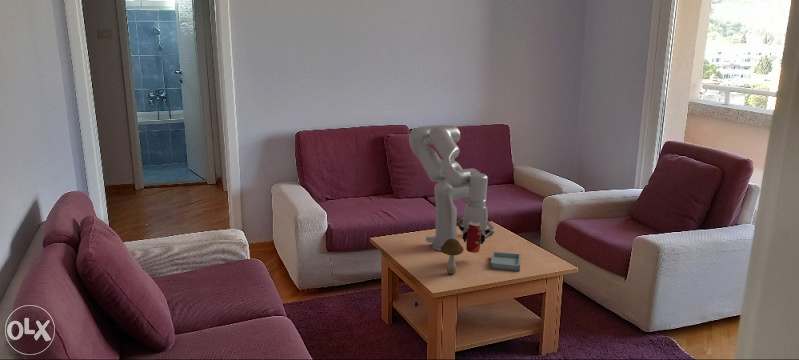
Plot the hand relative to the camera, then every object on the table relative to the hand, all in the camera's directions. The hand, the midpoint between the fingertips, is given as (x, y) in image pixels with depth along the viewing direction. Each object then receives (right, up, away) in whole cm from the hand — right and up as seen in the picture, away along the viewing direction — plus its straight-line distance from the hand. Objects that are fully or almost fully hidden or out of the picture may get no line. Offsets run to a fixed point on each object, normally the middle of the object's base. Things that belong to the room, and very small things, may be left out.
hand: (473, 241), depth 250 cm
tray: (+14, -9, -1) cm, 16 cm away
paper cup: (0, -4, +1) cm, 4 cm away
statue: (+8, -1, +36) cm, 37 cm away
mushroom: (-11, -12, -12) cm, 20 cm away
